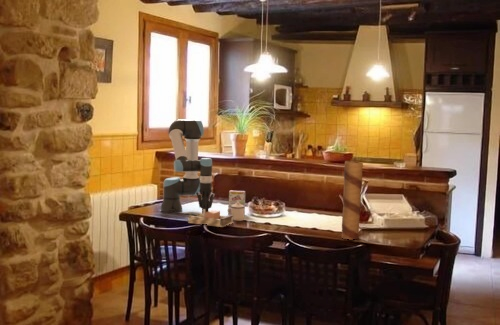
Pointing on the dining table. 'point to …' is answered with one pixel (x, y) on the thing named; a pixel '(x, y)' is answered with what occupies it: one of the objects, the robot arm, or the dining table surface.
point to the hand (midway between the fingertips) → (205, 218)
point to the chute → (211, 220)
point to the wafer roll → (351, 199)
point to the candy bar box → (236, 198)
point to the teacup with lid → (237, 211)
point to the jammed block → (213, 214)
